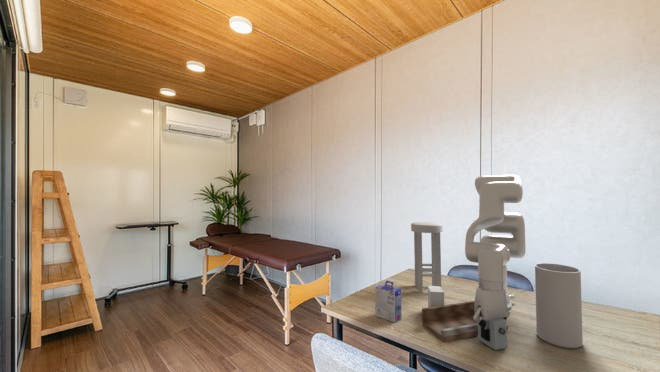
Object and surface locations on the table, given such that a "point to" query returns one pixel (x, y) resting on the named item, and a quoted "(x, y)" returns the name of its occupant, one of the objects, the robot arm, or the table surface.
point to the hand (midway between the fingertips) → (492, 337)
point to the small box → (435, 296)
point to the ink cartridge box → (388, 302)
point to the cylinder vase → (559, 304)
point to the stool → (435, 249)
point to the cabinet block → (496, 334)
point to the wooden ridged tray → (451, 321)
